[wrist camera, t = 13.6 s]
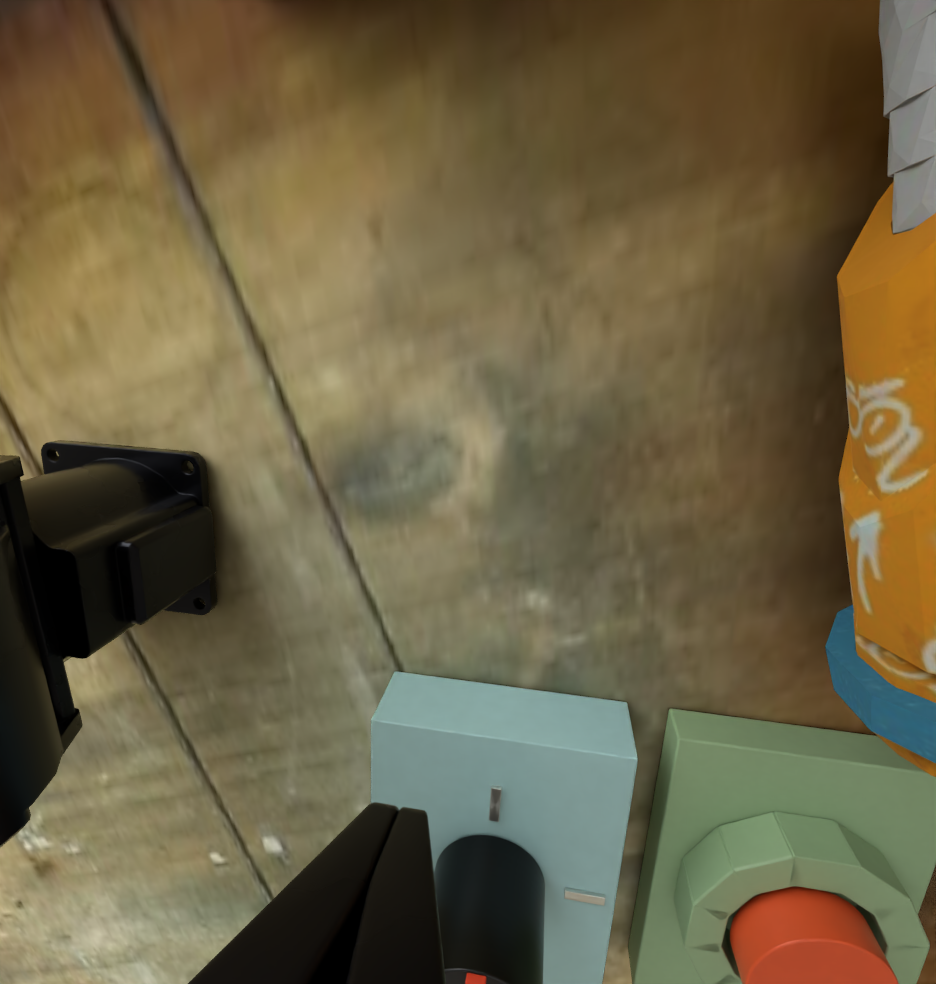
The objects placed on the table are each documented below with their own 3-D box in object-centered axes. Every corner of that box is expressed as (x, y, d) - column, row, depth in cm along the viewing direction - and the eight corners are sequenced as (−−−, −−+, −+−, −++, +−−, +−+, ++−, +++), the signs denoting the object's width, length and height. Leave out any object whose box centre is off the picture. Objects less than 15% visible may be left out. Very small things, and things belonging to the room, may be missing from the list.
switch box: (627, 946, 24) (639, 1043, 21) (668, 707, 21) (690, 777, 18) (852, 988, 23) (903, 1098, 20) (933, 742, 20) (1010, 825, 16)
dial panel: (390, 901, 26) (368, 976, 23) (394, 670, 22) (369, 722, 19) (592, 939, 24) (596, 1024, 21) (627, 701, 21) (639, 762, 18)
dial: (538, 930, 21) (534, 1099, 16) (432, 909, 21) (398, 1067, 17) (550, 845, 20) (549, 1000, 15) (438, 824, 20) (403, 968, 16)
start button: (718, 971, 20) (733, 1029, 18) (741, 874, 19) (760, 927, 17) (853, 996, 19) (881, 1059, 18) (885, 899, 18) (919, 956, 16)
